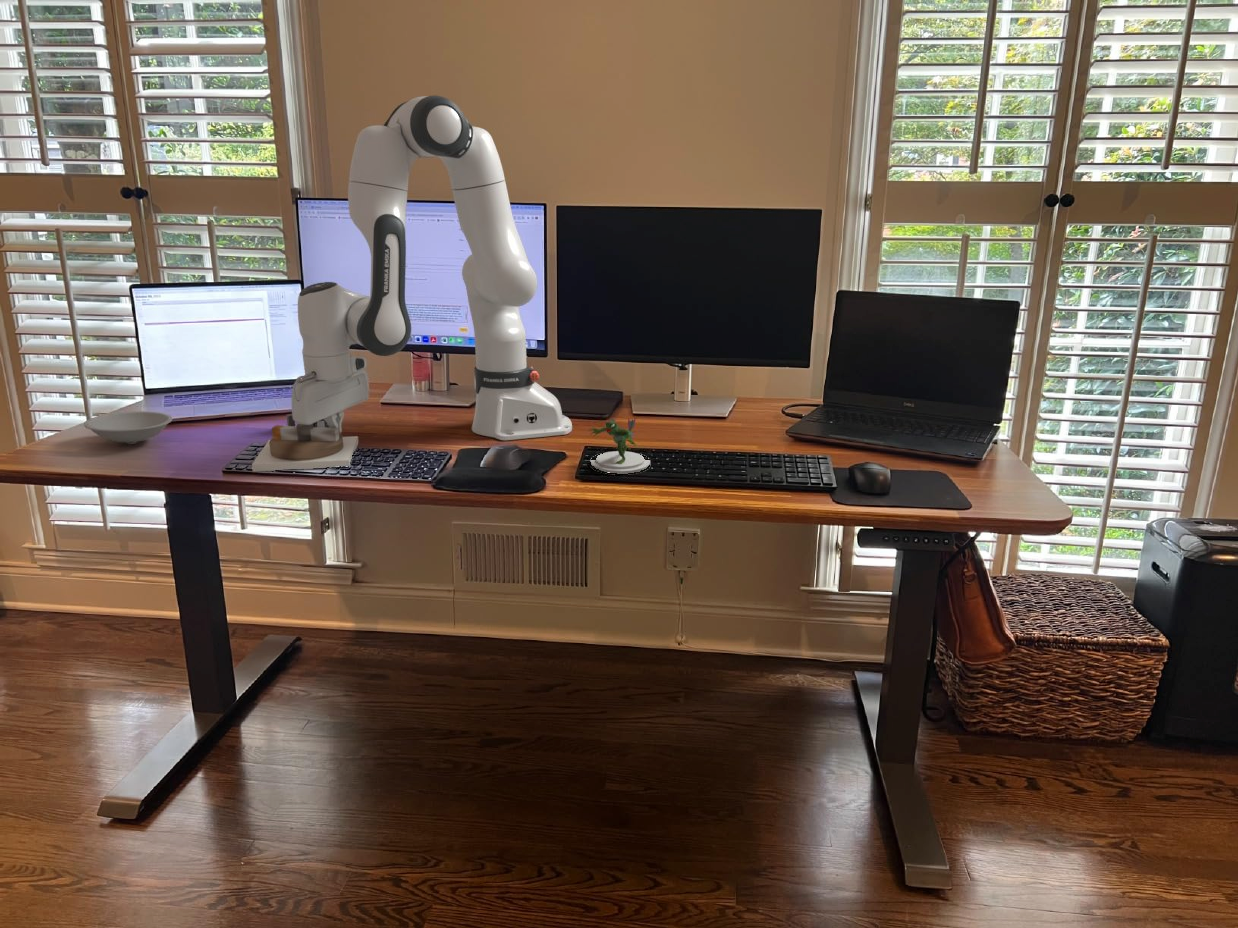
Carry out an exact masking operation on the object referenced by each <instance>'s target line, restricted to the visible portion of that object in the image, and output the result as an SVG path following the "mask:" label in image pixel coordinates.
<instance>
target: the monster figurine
mask: <svg viewBox="0 0 1238 928" xmlns="http://www.w3.org/2000/svg"><path fill="white" fill-rule="evenodd" d="M604 422H605V426H603V427H602V428H596V427H594V426H592V428H591V429H589V430H588V432H591V431H592V432H591V433H590V436H591V435H592V434H594V435H593V438H594V437H595V436H597V435H598V434H601V433H603V432H606V433H607V434H608V435H609V436H612V438H613V442H614V443H615V444H617V450H615V451H607V452H603V454H602V453H599V454H600V455H598V454H597V455H598V456H597V458H596V460H591V459H592V457H591V458H590V460H589V461H590V462H591V465H592V466H594V467H595V468H596V469H599V470H601V471H604V472H610V473H617V474H628V473H634V472H640V471H641V470H644V469H646V468H647V467H648V466H649V465H650V466H651V459H650V458H649V457H648V459H650V460H645V459H644V457H643V456H642V455H643V454H641V455H640V453H636V452H634V451H633V452H632V451H627V449H628V445H627V443H626V441H627V442H629V443H630V445H633V446H634V447H636V446H637V445H636V444H637V443H635V441H634V440H632V439H633V438H634V436H635V435H636V433H635V431H632V430H633V429H634V427H635V424H636V418H634V419H631V420H630V418H628V420H627V425H628V429H626V428H625V429H624V428H622V427H621V425H619V424H618V422H616V419H614V418H610V419H609V421H606V420H605V421H604ZM590 462H589V463H590ZM640 473H641V472H640ZM628 475H629V474H628Z"/></svg>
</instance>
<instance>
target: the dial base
mask: <svg viewBox="0 0 1238 928" xmlns="http://www.w3.org/2000/svg"><path fill="white" fill-rule="evenodd" d="M285 416H286V426H296V422H295V421H294V420H293V417H292V413H289V414H285ZM270 440H271V439H268V441H267V442H266V443H265V445H264V447H262V449H261V450H260V452H259V454H258V455H257V456H256V458H255V459H254V461H253V462H252V463H251V468H252V473H255V472H256V473H257V472H258V473H259V472H276V471H275V470H282V471H284V470H283V469H304V470H314V469H313V468H326V467H334V466H349V465H350V466H351V464H350V462H351V459H352V455H353V452H354V450H355V449H356V450H357V448H358V445H359V436H343V448H342V449H341V450H340V451H339V452H337V453H334V454H332V455H329V456H325V457H320V458H314V459H305V460H288V459H281V458H277V457H274V456H273V455H271V452H270V444H269V442H270ZM352 460H353V459H352ZM351 463H352V462H351Z"/></svg>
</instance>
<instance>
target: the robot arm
mask: <svg viewBox="0 0 1238 928" xmlns="http://www.w3.org/2000/svg"><path fill="white" fill-rule="evenodd" d="M436 157H437V158H439V159H440V160H441V161H442V163H443V164H444V166H445V169H446V170H447V173H448V175H449V181H450V187H451V192H452V196H453V200H454V205H455V209H456V210H455V211H456V213H457V218H458V219H457V220H458V223H459V227H460V229H461V232H462V233H463V234H464V237H465V239H466V242H467V244H468V247H469V249H470V253H471V254H470V255H469V256H468V257H466V259H465V261H463V266H462V271H461V276H462V280H463V282H464V283H463V284H464V285H465V289H466V295H467V300H468V305H469V312H470V315H471V321H472V325H473V326H472V327H473V332H474V333H473V334H474V347H475V349H474V350H475V351H474V353H475V367H474V373H473V381H474V383H473V384H474V391H475V393H476V398H475V399H476V400H475V409H474V417H473V422H472V425H471V430H472V432H473V433H475V434H477V435H481V436H485V437H490V438H495V439H497V440H500V441H515V440H523V439H534V438H543V437H544V438H545V437H553V436H562V435H563V436H564V435H568V434H570V433H571V432H572V430H573V425H572V424H573V423H572V421H571V419H570V418H569V417H568V416H566V415H564V414H563V412H562V407H561V403H560V401H559V399H558V398H557V397H556V396H555V395H554V394H553V393H551V392H550V391H548V390H547V389H546V388H544V387H543V386H541V385H540V384H539V383H537V381H539V379H540V374H539V372H538V371H536V369H535V368H533V366H529V365H527V339H526V338H527V335H526V334H527V332H526V329H525V326H524V324H523V321H522V316H521V313H520V309H519V307H522V306H524V305H526V304H527V303H529V302H530V301H531V300H532V299H533V298H534V296H535V295H536V293H537V289H538V277H537V274H536V273H535V270H534V268H533V266H532V265H531V264H530V261H529V259H528V256H527V253H526V250H525V247H524V245H523V242H522V239H521V237H520V234H519V231H518V229H517V226H516V223H515V219H514V217H513V211H512V207H511V206H512V205H511V203H510V202H511V201H510V198H509V193H508V187H507V184H506V182H507V181H506V179H505V174H504V173H505V172H504V169H503V165H502V162H501V161H502V160H501V158H500V155H499V153H498V150H497V147H496V144H495V142H494V140H493V137H492V135H491V134H490V133H489V131H488V130H486V129H484V128H482V127H478V126H473V125H471V123H470V121H468V119H467V118H466V116H465V114H464V113H463V111H462V109H461V108H460V106H458V105H457V104H456V102H454V101H453V100H451V99H450V98H447V97H445V96H442V95H435V94H434V95H433V94H432V95H427V96H425V95H423V96H418V97H414V98H412V99H410V100H408V101H404V102H403V103H400V105H398V106H396V108H395V109H394V110H393V111H392V113H391V114H390V116H389V117H388V119H387V120H386V121H385V123H384V124H383V125H370V126H367V127H364V128H363V129H362V130H360V132H359V133H358V134H357V138H356V142H355V144H354V148H353V152H352V157H351V163H350V168H349V178H348V189H347V200H348V201H347V202H348V204H347V205H348V213H349V217H350V219H351V221H352V222H353V224H354V225H355V227H356V228H357V229H358V230H359V231H360V232H361V234H362V236H363V237H364V239H365V241H366V243H367V245H368V247H369V252H370V294H369V295H363V294H360V293H356V292H354V291H352V290H349V289H347V288H345V287H343V286H341V285H339V284H338V283H337V282H333V281H324V282H318V283H317V282H316V283H313V284H310V285H307V286H306V287H304V288H303V289H301V291H299V294H298V297H297V319H298V320H297V321H298V329H299V330H298V331H299V334H300V336H301V340H302V350H301V353H302V354H301V355H302V362H303V367H304V368H303V370H304V375H300V376H297V378H296V380H295V381H294V383H293V384H292V390H291V414H292V417H293V420H294V421H295V424H296V425H297V424H304V425H310V424H313V423H315V422H317V421H320V420H322V419H324V420H325V421H326V423H327V424H328V426H329V427H330V428H338V432H339V433H340V434H342V423H343V419H344V418H345V417H344V416H345V413H344V412H345V410H347V409H350V408H352V407H354V406H356V405H360V404H361V403H365V402H366V401H367V400H368V399H369V396H370V385H369V384H370V383H369V376H368V372H367V370H366V368H367V365H368V362H367V358H366V357H364V356H363V357H362V356H358V355H357V356H356V355H351V353H350V347H351V346H352V345H360V346H362V347H364V348H365V349H366V350H368V352H370V353H372V354H373V355H376V356H379V357H388V356H389V357H390V356H392V355H395V354H398V353H399V352H401V351H402V350H403V349H404V348H405V347H406V346H407V344H408V343H409V340H410V338H411V335H412V323H411V318H410V315H409V313H408V309H407V305H406V304H407V303H406V267H407V266H406V263H407V262H406V260H407V258H406V256H407V250H406V249H407V246H406V245H407V243H406V242H407V241H406V218H407V217H406V216H407V215H406V214H407V206H408V205H407V204H408V203H407V202H408V191H409V178H410V177H409V175H410V172H411V170H412V166H413V165H414V163H415V161H417V159H418V158H419V159H420V158H422V159H432V158H433V159H434V158H436Z"/></svg>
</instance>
